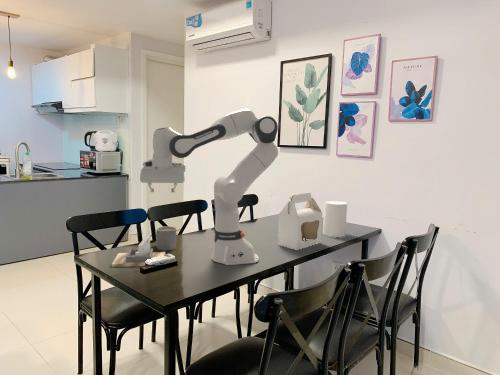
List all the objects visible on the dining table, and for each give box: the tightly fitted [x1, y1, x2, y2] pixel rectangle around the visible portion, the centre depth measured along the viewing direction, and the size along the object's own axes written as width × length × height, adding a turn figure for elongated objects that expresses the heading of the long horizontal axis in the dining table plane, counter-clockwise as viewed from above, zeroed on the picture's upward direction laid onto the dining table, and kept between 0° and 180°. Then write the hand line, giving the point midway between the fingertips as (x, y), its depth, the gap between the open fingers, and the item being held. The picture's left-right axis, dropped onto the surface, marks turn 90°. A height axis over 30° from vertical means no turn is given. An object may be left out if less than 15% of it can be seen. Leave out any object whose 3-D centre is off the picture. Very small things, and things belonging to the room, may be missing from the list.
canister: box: [322, 200, 348, 238], centre depth 229 cm, size 14×14×20 cm
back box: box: [126, 248, 154, 262], centre depth 173 cm, size 11×12×2 cm
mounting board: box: [111, 251, 166, 268], centre depth 174 cm, size 22×16×1 cm
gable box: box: [277, 192, 323, 251], centre depth 206 cm, size 22×13×28 cm, turn 135°
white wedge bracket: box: [135, 235, 151, 256], centre depth 174 cm, size 4×10×9 cm
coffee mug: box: [155, 225, 177, 251], centre depth 195 cm, size 13×10×10 cm
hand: (162, 192), depth 176 cm, fingers open, 8 cm apart
